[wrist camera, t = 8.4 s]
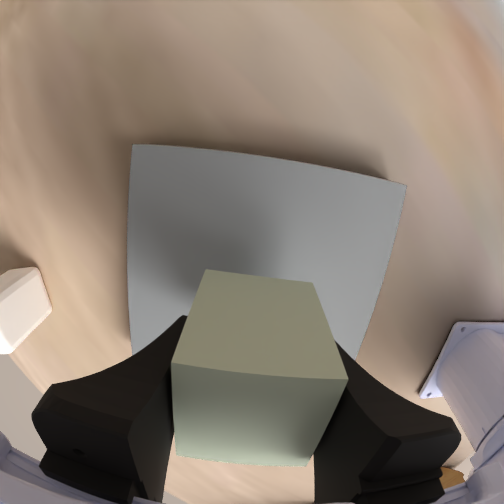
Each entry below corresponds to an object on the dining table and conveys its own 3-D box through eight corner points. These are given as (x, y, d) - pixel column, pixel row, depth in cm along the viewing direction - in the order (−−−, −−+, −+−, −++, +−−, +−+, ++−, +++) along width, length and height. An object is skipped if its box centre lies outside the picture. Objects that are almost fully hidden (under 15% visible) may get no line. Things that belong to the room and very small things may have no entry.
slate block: (384, 178, 17) (407, 185, 14) (332, 366, 22) (340, 393, 19) (151, 143, 17) (132, 144, 14) (146, 344, 21) (133, 369, 18)
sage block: (312, 282, 13) (348, 379, 7) (291, 364, 14) (306, 466, 9) (205, 269, 13) (170, 362, 7) (199, 354, 14) (176, 455, 9)
